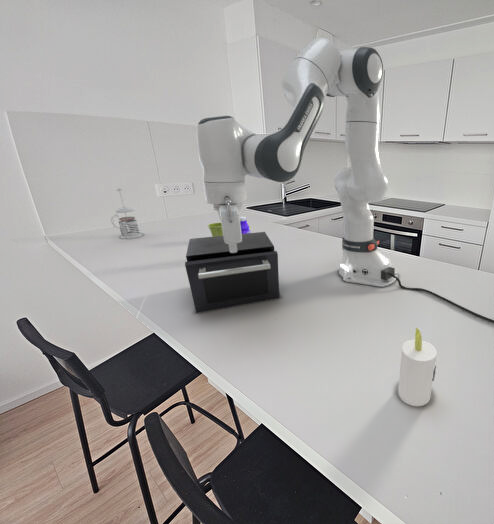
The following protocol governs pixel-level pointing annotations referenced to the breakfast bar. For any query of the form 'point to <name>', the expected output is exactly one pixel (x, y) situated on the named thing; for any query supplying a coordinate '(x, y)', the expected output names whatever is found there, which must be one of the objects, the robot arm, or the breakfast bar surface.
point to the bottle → (244, 225)
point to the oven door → (233, 280)
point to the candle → (417, 371)
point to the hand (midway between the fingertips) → (233, 251)
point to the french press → (127, 223)
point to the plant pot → (216, 229)
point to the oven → (227, 246)
